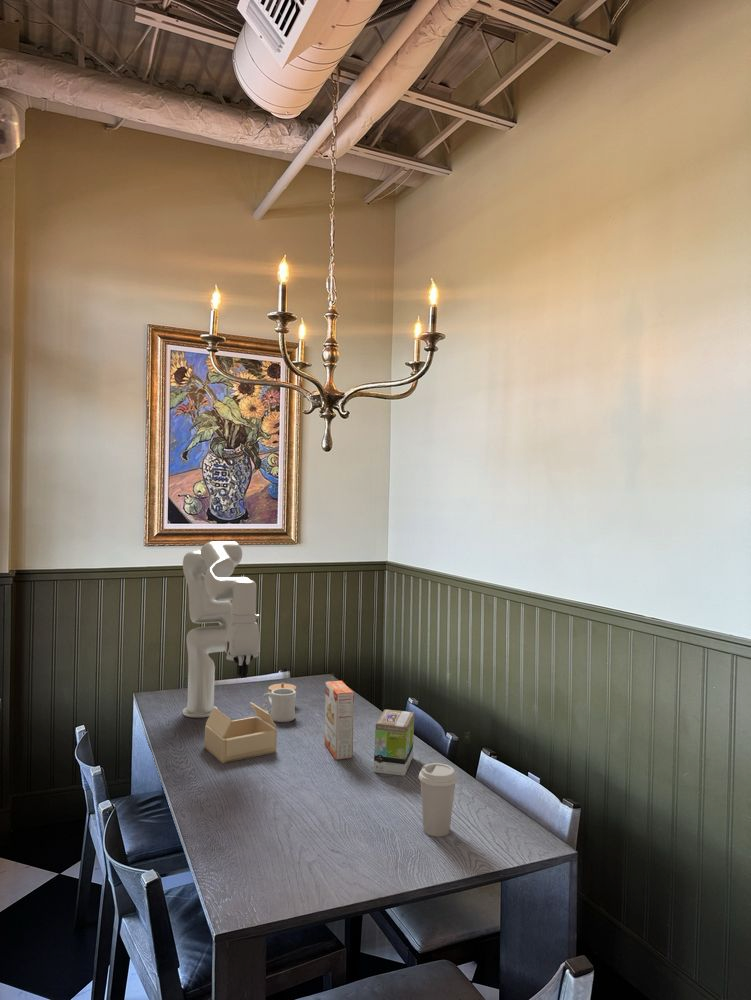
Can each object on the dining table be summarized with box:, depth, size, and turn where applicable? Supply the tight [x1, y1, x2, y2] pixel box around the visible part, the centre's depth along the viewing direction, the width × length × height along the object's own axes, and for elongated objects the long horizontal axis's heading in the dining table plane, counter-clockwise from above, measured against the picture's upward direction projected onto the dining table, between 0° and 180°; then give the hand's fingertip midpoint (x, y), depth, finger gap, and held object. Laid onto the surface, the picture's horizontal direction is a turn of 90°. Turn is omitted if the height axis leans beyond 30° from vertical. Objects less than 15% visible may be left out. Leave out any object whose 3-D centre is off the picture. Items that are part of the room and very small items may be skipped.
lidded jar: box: [267, 682, 297, 706], centre depth 258 cm, size 11×11×9 cm
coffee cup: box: [418, 762, 458, 838], centre depth 165 cm, size 10×10×15 cm
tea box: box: [373, 709, 415, 777], centre depth 205 cm, size 15×10×15 cm, turn 168°
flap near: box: [205, 708, 233, 737], centre depth 209 cm, size 14×6×1 cm
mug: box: [261, 688, 297, 723], centre depth 245 cm, size 12×9×10 cm
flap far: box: [249, 701, 277, 729], centre depth 218 cm, size 14×6×1 cm
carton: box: [204, 716, 278, 764], centre depth 214 cm, size 16×18×7 cm
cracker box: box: [324, 680, 355, 761], centre depth 215 cm, size 14×6×21 cm, turn 19°
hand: (242, 676), depth 213 cm, fingers closed
